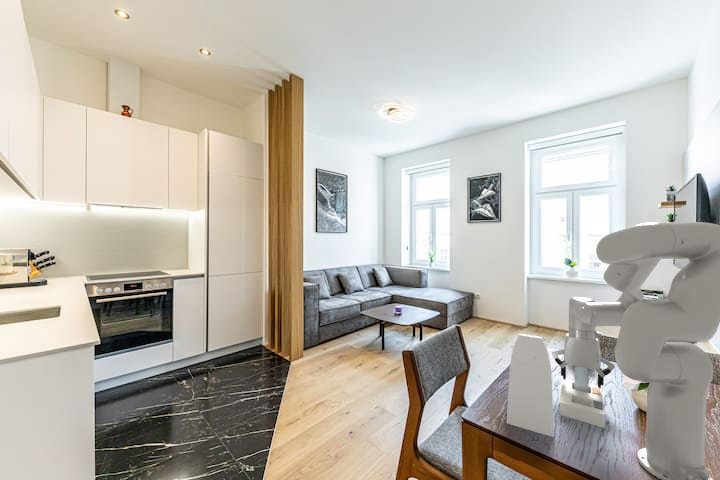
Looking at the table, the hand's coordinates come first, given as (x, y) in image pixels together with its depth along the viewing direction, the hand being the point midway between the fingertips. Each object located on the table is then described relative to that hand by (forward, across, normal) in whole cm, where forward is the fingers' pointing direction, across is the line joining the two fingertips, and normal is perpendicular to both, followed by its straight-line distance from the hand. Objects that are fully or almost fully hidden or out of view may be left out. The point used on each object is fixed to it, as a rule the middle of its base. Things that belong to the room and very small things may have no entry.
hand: (581, 382), depth 101 cm
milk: (+6, +13, +23) cm, 27 cm away
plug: (+6, 0, 0) cm, 6 cm away
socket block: (+6, 0, +5) cm, 8 cm away
